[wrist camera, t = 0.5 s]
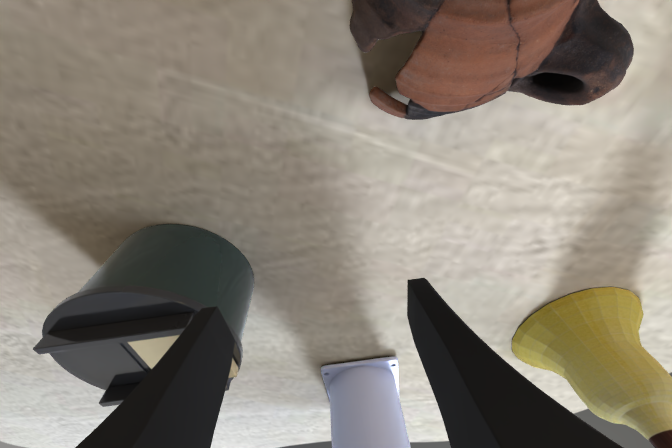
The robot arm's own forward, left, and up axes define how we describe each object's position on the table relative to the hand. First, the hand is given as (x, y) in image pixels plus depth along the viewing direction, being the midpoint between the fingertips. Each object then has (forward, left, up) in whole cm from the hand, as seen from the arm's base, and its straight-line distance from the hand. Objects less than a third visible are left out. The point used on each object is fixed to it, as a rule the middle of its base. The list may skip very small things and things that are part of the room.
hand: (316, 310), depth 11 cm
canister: (-6, +11, -10) cm, 16 cm away
